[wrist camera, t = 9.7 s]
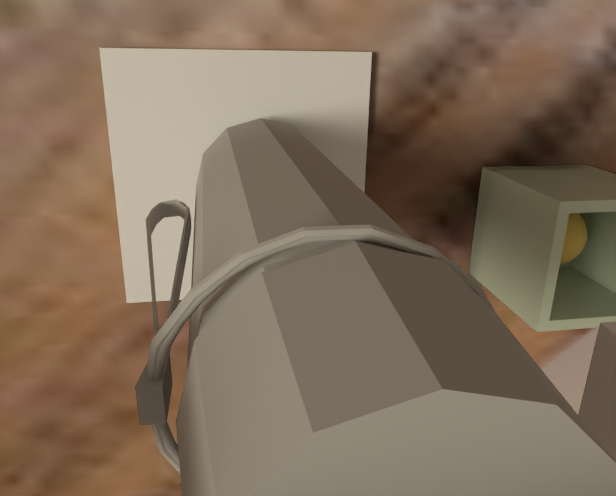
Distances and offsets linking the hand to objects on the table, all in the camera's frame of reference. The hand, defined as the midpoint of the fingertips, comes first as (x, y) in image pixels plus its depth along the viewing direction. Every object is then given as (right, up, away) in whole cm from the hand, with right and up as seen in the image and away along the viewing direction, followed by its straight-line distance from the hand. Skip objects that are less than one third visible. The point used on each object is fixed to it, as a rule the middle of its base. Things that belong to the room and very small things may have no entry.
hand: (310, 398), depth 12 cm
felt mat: (-4, +7, +20) cm, 21 cm away
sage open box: (+14, +5, +24) cm, 28 cm away
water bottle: (-4, +7, +19) cm, 21 cm away
